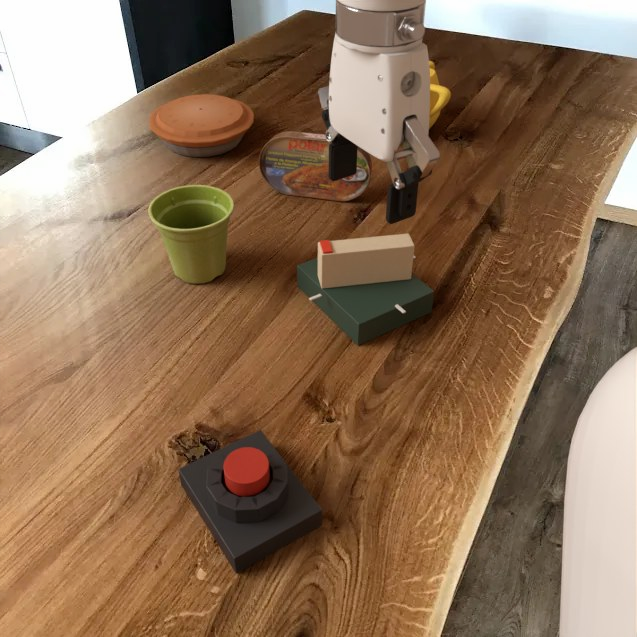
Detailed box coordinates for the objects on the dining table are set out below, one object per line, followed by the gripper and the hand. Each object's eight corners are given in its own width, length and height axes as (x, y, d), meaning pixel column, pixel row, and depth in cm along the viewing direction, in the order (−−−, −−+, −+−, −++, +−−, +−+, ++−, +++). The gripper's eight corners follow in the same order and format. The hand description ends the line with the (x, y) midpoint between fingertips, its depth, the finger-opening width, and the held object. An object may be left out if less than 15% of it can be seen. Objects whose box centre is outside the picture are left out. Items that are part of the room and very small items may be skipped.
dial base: (452, 311, 81) (456, 288, 79) (347, 359, 75) (348, 336, 73) (376, 248, 90) (377, 226, 88) (276, 287, 84) (275, 265, 82)
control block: (322, 525, 60) (322, 496, 57) (236, 574, 57) (232, 545, 54) (261, 445, 66) (259, 415, 64) (180, 484, 63) (175, 455, 60)
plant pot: (155, 296, 82) (144, 232, 77) (161, 248, 89) (151, 185, 84) (239, 292, 83) (233, 227, 77) (238, 244, 90) (233, 182, 84)
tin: (259, 191, 100) (256, 134, 94) (266, 180, 102) (263, 123, 96) (368, 206, 97) (371, 148, 91) (372, 194, 99) (375, 137, 94)
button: (278, 483, 59) (277, 470, 58) (238, 504, 57) (237, 490, 56) (255, 453, 61) (254, 440, 60) (217, 473, 59) (215, 459, 58)
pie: (134, 158, 106) (129, 126, 103) (175, 112, 118) (171, 82, 115) (235, 171, 104) (233, 138, 100) (267, 123, 115) (265, 93, 112)
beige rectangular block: (405, 266, 82) (409, 231, 79) (411, 279, 80) (415, 243, 77) (317, 275, 80) (317, 240, 77) (321, 289, 79) (321, 253, 75)
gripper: (482, 42, 58) (456, 225, 69) (356, -11, 69) (351, 153, 80) (408, 61, 55) (393, 249, 66) (288, 2, 66) (292, 171, 77)
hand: (370, 197), depth 73 cm, fingers open, 9 cm apart
